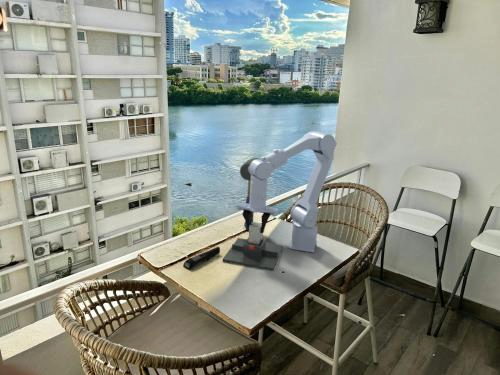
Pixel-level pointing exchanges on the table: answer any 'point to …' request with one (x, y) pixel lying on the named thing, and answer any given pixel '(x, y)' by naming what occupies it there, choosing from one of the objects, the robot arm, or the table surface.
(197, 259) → the electric trimmer
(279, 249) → the stand base
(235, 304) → the table surface
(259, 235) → the column
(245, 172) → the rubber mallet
